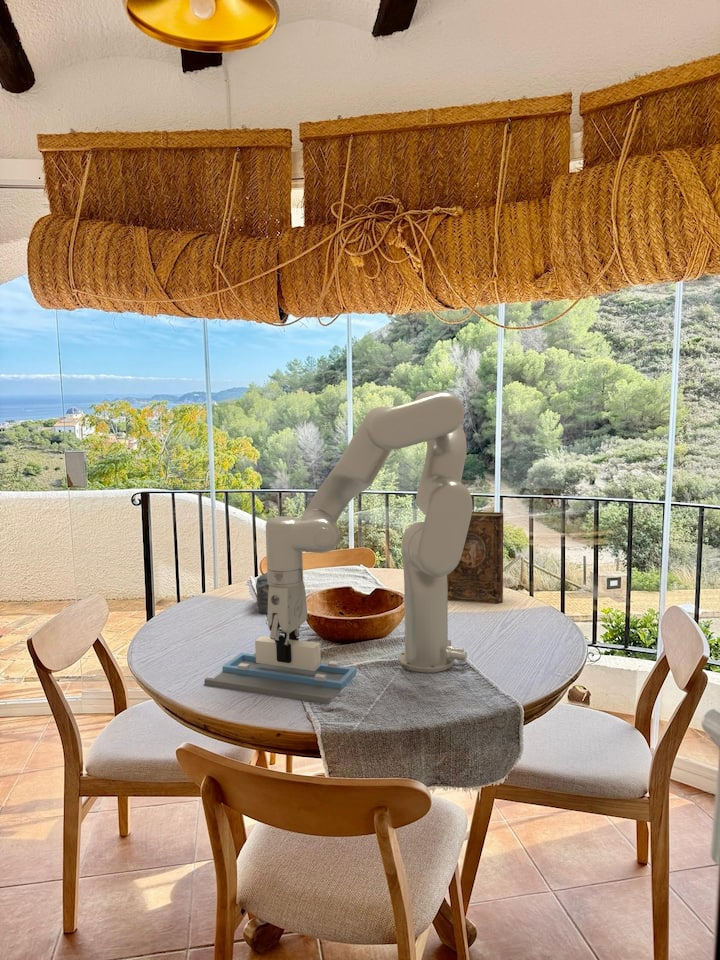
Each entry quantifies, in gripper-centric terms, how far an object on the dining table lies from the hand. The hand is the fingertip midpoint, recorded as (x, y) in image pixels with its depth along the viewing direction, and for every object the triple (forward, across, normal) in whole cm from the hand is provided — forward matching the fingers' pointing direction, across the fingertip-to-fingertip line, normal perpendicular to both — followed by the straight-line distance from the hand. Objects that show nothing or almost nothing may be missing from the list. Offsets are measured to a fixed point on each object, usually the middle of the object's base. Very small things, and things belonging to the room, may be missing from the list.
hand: (288, 657), depth 150 cm
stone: (+4, +40, +26) cm, 48 cm away
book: (+4, +64, -27) cm, 70 cm away
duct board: (+4, -4, 0) cm, 5 cm away
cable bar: (+1, 0, 0) cm, 1 cm away
